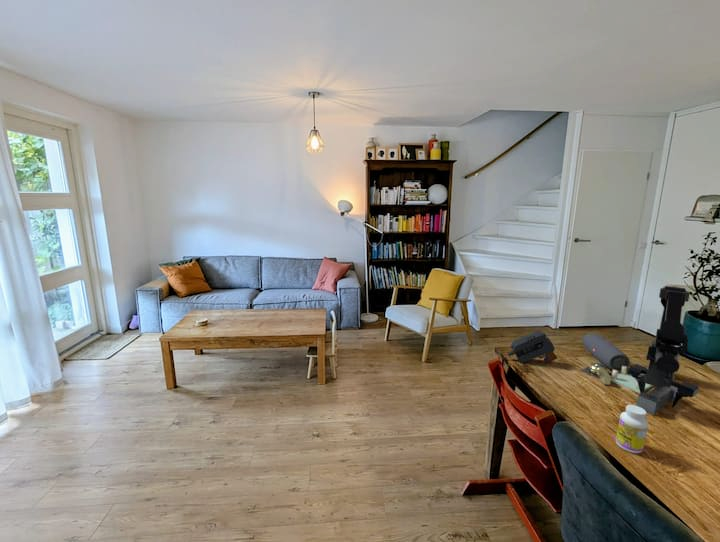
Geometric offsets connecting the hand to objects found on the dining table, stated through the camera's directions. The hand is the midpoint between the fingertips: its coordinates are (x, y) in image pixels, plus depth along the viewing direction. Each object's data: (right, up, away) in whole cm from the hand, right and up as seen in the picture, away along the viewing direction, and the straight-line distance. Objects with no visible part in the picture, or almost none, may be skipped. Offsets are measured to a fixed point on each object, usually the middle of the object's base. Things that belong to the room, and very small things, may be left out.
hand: (657, 400), depth 123 cm
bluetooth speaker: (+3, +5, +31) cm, 32 cm away
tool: (-30, +5, +33) cm, 45 cm away
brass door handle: (-8, +3, +18) cm, 20 cm away
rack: (+1, +2, +14) cm, 14 cm away
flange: (-7, +3, +22) cm, 23 cm away
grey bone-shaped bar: (0, -1, 0) cm, 1 cm away
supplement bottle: (-27, -6, -21) cm, 34 cm away
